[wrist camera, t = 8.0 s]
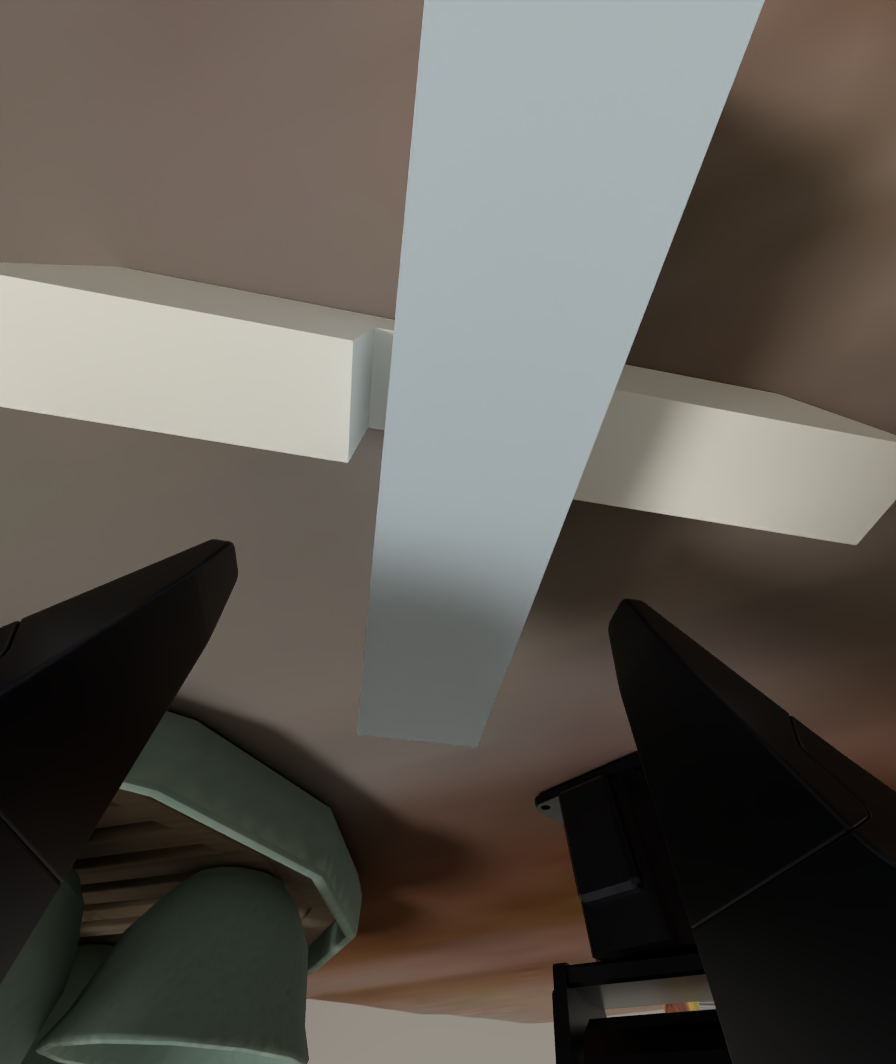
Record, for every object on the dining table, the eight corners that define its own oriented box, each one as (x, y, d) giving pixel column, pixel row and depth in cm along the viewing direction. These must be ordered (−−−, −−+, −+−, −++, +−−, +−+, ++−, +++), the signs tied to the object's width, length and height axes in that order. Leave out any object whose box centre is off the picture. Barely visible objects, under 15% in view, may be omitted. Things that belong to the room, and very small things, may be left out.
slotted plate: (463, 4, 7) (496, -771, 2) (602, 40, 7) (978, -556, 2) (393, 559, 13) (356, 734, 8) (467, 570, 13) (476, 747, 8)
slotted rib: (778, 393, 10) (939, 450, 7) (735, 465, 11) (856, 545, 8) (121, 267, 9) (-81, 260, 6) (141, 361, 10) (-17, 403, 7)
